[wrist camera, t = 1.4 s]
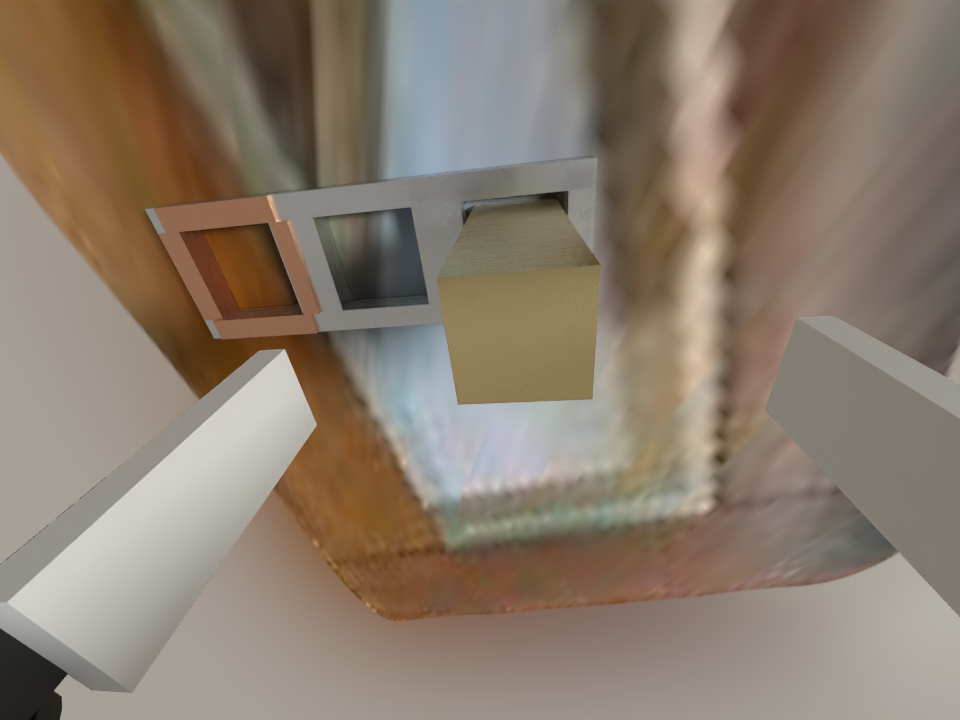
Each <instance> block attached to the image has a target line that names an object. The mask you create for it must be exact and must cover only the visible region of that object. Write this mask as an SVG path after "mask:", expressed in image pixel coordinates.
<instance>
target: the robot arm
mask: <svg viewBox="0 0 960 720" xmlns="http://www.w3.org/2000/svg"><path fill="white" fill-rule="evenodd" d="M765 410H766V411H767V412H768V413H769V414H770V415H771V417H772V418H773V419H774V420H775V421H776V422H777V423H778V424H779V425H780V426H781V427H782V428H783V429H784V430H785V431H786V432H787V434H788V435H789V436H790V437H791V438H792V439H793V440H794V441H795V442H796V443H797V444H798V445H799V446H800V447H801V448H802V450H803V451H804V452H805V453H806V454H807V455H808V456H809V457H810V458H811V459H812V460H813V461H814V462H815V463H816V464H817V465H818V467H819V468H820V469H821V470H822V471H823V472H824V473H825V474H826V475H827V476H828V477H829V478H830V479H831V480H832V481H833V482H834V484H835V485H836V486H837V487H838V488H839V489H840V490H841V491H842V492H843V493H844V494H845V495H846V496H847V497H848V498H849V500H850V501H851V502H852V503H853V504H854V505H855V506H856V507H857V508H858V509H859V510H860V511H861V512H862V513H863V514H864V515H865V517H866V518H867V519H868V520H869V521H870V522H871V523H872V524H873V525H874V526H875V527H876V528H877V529H878V530H879V531H880V532H881V534H882V535H883V536H884V537H885V538H886V539H887V540H888V541H889V542H890V543H891V544H892V545H893V546H894V547H895V548H896V550H897V551H898V552H899V553H901V555H902V556H903V557H904V558H905V559H906V560H907V561H908V562H909V563H910V564H911V565H912V567H913V568H914V569H915V570H916V571H917V572H918V573H919V574H920V575H921V576H922V577H923V578H924V579H925V580H926V581H927V582H928V584H929V585H930V586H931V587H932V588H933V589H934V590H935V591H936V592H937V593H938V594H939V595H940V596H941V597H942V598H943V600H944V601H945V602H946V603H947V604H948V605H949V606H950V607H951V608H952V609H953V610H954V611H955V612H956V613H957V614H958V615H959V617H960V385H959V384H958V383H955V382H954V381H952V380H950V379H948V378H947V377H945V376H943V375H941V374H939V373H937V372H936V371H934V370H932V369H930V368H928V367H926V366H925V365H923V364H921V363H919V362H917V361H915V360H914V359H912V358H910V357H908V356H906V355H904V354H902V353H901V352H899V351H897V350H895V349H893V348H891V347H890V346H888V345H886V344H884V343H882V342H880V341H879V340H877V339H875V338H873V337H871V336H869V335H868V334H866V333H864V332H862V331H860V330H858V329H857V328H855V327H853V326H851V325H849V324H847V323H846V322H844V321H842V320H840V319H838V318H836V317H835V316H818V317H801V318H797V320H796V323H795V326H794V329H793V331H792V334H791V337H790V340H789V343H788V346H787V349H786V351H785V354H784V357H783V360H782V363H781V366H780V369H779V371H778V374H777V377H776V380H775V383H774V386H773V389H772V391H771V394H770V397H769V400H768V403H767V406H766V408H765ZM316 426H317V424H316V422H315V420H314V417H313V415H312V413H311V410H310V408H309V405H308V403H307V401H306V398H305V396H304V394H303V391H302V389H301V386H300V384H299V382H298V379H297V377H296V375H295V372H294V370H293V367H292V365H291V363H290V360H289V358H288V356H287V353H286V351H285V349H276V350H260V351H258V352H257V353H256V354H255V355H254V356H252V357H251V358H250V359H249V360H247V361H246V362H245V363H244V364H243V365H241V366H240V367H239V368H238V369H237V370H235V371H234V372H233V373H232V374H231V375H229V376H228V377H227V378H226V379H224V380H223V381H222V382H221V383H220V384H218V385H217V386H216V387H215V388H214V389H212V390H211V391H210V392H209V393H208V394H206V395H205V396H204V397H203V398H202V399H200V400H199V401H198V402H197V403H196V404H195V405H193V406H192V407H191V408H189V409H188V410H187V411H186V412H185V413H183V414H182V415H181V416H180V417H179V418H177V419H176V420H175V421H174V422H173V423H171V424H170V425H169V426H168V427H167V428H165V429H164V430H163V431H162V432H160V433H159V434H158V435H157V436H156V437H154V438H153V439H152V440H151V441H150V442H148V443H147V444H146V445H145V446H144V447H142V448H141V449H140V450H139V451H137V452H136V453H135V454H134V455H133V456H131V458H129V459H128V460H127V461H126V462H124V463H123V464H122V465H121V466H119V467H118V468H117V469H116V470H115V471H113V472H112V473H111V474H110V475H108V476H107V477H106V478H104V479H103V480H102V481H101V482H99V484H97V485H96V486H95V487H93V488H92V489H91V490H90V491H89V492H87V493H86V494H85V495H84V496H83V497H81V498H80V499H79V500H78V501H77V502H76V503H75V504H73V505H72V506H70V507H69V508H68V509H67V510H66V511H64V512H63V513H62V514H61V515H60V516H58V517H57V518H56V520H54V521H53V522H52V523H50V524H49V525H47V526H46V527H45V528H44V529H43V530H42V531H40V532H39V533H38V534H37V535H36V536H34V537H33V538H32V539H30V540H29V541H28V542H27V543H26V544H25V545H23V546H22V547H21V548H20V549H18V550H17V551H16V552H15V553H14V554H12V555H11V556H10V557H9V558H7V559H6V560H5V561H4V562H3V563H1V564H0V720H60V716H61V711H62V697H61V696H60V695H59V694H57V693H56V692H55V691H54V689H55V688H56V687H57V686H58V685H59V684H60V683H61V681H62V680H63V679H64V678H65V677H66V675H67V674H68V675H69V676H71V677H72V678H74V679H75V680H77V681H78V682H80V683H82V684H83V685H84V686H86V687H87V688H89V689H90V690H97V691H114V692H130V693H132V692H133V691H134V689H135V688H136V686H137V685H138V684H139V682H140V681H141V679H142V678H143V676H144V675H145V673H146V672H147V671H148V669H149V668H150V666H151V665H152V663H153V661H154V660H155V659H156V657H157V656H158V655H159V653H160V651H161V650H162V649H163V647H164V646H165V644H166V643H167V641H168V640H169V639H170V637H171V636H172V634H173V633H174V631H175V630H176V628H177V627H178V625H179V624H180V623H181V621H182V620H183V618H184V617H185V615H186V614H187V613H188V611H189V610H190V608H191V607H192V605H193V604H194V602H195V601H196V599H197V598H198V596H199V595H200V594H201V592H202V591H203V589H204V588H205V586H206V585H207V584H208V582H209V580H210V579H211V578H212V576H213V575H214V573H215V572H216V570H217V569H218V567H219V566H220V565H221V563H222V562H223V560H224V559H225V557H226V556H227V555H228V553H229V552H230V550H231V549H232V547H233V546H234V544H235V543H236V541H237V540H238V539H239V537H240V536H241V534H242V532H243V531H244V530H245V528H246V527H247V525H248V524H249V523H250V521H251V520H252V518H253V517H254V515H255V514H256V512H257V511H258V509H259V508H260V507H261V505H262V504H263V502H264V501H265V499H266V498H267V497H268V495H269V493H270V492H271V491H272V489H273V488H274V486H275V485H276V483H277V482H278V481H279V479H280V478H281V476H282V475H283V473H284V472H285V470H286V469H287V468H288V466H289V465H290V463H291V462H292V460H293V459H294V457H295V456H296V454H297V453H298V452H299V450H300V449H301V447H302V446H303V444H304V443H305V441H306V440H307V439H308V437H309V436H310V434H311V433H312V431H313V430H314V428H315V427H316Z"/></svg>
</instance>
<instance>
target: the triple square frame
mask: <svg viewBox="0 0 960 720" xmlns="http://www.w3.org/2000/svg"><path fill="white" fill-rule="evenodd" d="M596 173H597V157H594V156H584V157H576V158H567V159H559V160H550V161H541V162H533V163H524V164H515V165H507V166H498V167H489V168H481V169H472V170H463V171H455V172H446V173H437V174H429V175H420V176H411V177H403V178H394V179H385V180H377V181H368V182H359V183H351V184H342V185H333V186H325V187H316V188H307V189H299V190H290V191H281V192H273V193H264V194H255V195H247V196H238V197H229V198H221V199H212V200H203V201H195V202H186V203H177V204H169V205H164V206H159V207H154V208H149V209H145V210H146V212H147V214H148V216H149V218H150V220H151V222H152V224H153V225H154V227H155V229H156V231H157V233H158V235H159V237H160V238H161V240H162V242H163V244H164V246H165V248H166V250H167V251H168V253H169V255H170V257H171V259H172V261H173V263H174V264H175V266H176V268H177V270H178V272H179V274H180V276H181V277H182V279H183V281H184V283H185V285H186V287H187V289H188V291H189V292H190V294H191V296H192V298H193V300H194V302H195V304H196V305H197V307H198V309H199V311H200V313H201V315H202V317H203V318H204V320H205V322H206V324H207V326H208V328H209V330H210V331H211V333H212V335H213V337H214V339H216V338H222V339H236V338H251V337H266V336H281V335H296V334H312V333H318V332H321V331H336V330H351V329H366V328H382V327H397V326H412V325H427V324H442V323H444V321H443V315H442V309H441V303H440V298H439V292H438V286H437V280H436V278H437V276H438V274H439V272H440V270H441V268H442V266H443V264H444V262H445V261H446V259H447V257H448V255H449V253H450V251H451V249H452V247H453V245H454V243H455V241H456V240H457V238H458V236H459V234H460V232H461V230H462V228H463V226H464V224H465V222H466V211H465V203H464V202H465V201H474V200H484V199H493V198H502V197H512V196H521V195H531V194H540V193H550V192H559V191H565V204H564V212H565V213H566V215H567V216H568V218H569V219H570V221H571V222H572V224H573V225H574V227H575V228H576V230H577V231H578V232H579V234H580V235H581V237H582V238H583V240H584V241H585V243H586V244H587V246H588V247H589V249H590V250H591V252H592V253H593V235H594V214H595V194H596ZM408 207H411V211H412V216H413V221H414V227H415V232H416V237H417V242H418V248H419V253H420V258H421V263H422V269H423V274H424V279H425V284H426V290H427V295H418V296H405V297H392V298H379V299H365V300H352V298H351V294H350V291H349V288H348V284H347V281H346V278H345V274H344V271H343V268H342V265H341V261H340V258H339V255H338V251H337V248H336V245H335V241H334V238H333V235H332V232H331V228H330V225H329V222H328V218H327V216H332V215H341V214H351V213H360V212H370V211H379V210H389V209H398V208H408ZM261 223H268V224H269V227H270V229H271V232H272V234H273V237H274V240H275V242H276V245H277V247H278V250H279V253H280V255H281V258H282V260H283V263H284V266H285V268H286V271H287V274H288V276H289V279H290V281H291V284H292V287H293V289H294V292H295V294H296V297H297V300H298V302H299V305H287V306H274V307H260V308H247V309H239V308H238V306H237V304H236V302H235V300H234V298H233V295H232V293H231V291H230V289H229V287H228V285H227V283H226V281H225V279H224V277H223V274H222V272H221V270H220V268H219V266H218V264H217V262H216V260H215V258H214V256H213V253H212V251H211V249H210V247H209V245H208V243H207V241H206V239H205V237H204V235H203V232H202V230H204V229H213V228H223V227H232V226H242V225H251V224H261Z"/></svg>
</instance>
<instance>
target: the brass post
mask: <svg viewBox="0 0 960 720" xmlns="http://www.w3.org/2000/svg"><path fill="white" fill-rule="evenodd" d="M436 280H437V286H438V292H439V298H440V303H441V309H442V315H443V321H444V327H445V332H446V338H447V344H448V350H449V355H450V361H451V367H452V373H453V378H454V384H455V390H456V396H457V401H458V405H460V404H485V403H510V402H535V401H560V400H585V399H592V397H593V380H594V364H595V347H596V330H597V314H598V297H599V281H600V264H599V262H598V261H597V259H596V258H595V256H594V255H593V253H592V252H591V250H590V249H589V247H588V246H587V244H586V243H585V241H584V240H583V238H582V237H581V235H580V234H579V232H578V231H577V230H576V228H575V227H574V225H573V224H572V222H571V221H570V219H569V218H568V216H567V215H566V213H565V212H564V210H563V209H562V207H561V206H560V204H559V203H558V201H557V200H556V198H547V199H537V200H528V201H518V202H508V203H499V204H489V205H480V206H474V207H473V209H472V211H471V213H470V215H469V217H468V218H467V220H466V222H465V224H464V226H463V228H462V230H461V232H460V234H459V236H458V238H457V240H456V241H455V243H454V245H453V247H452V249H451V251H450V253H449V255H448V257H447V259H446V261H445V262H444V264H443V266H442V268H441V270H440V272H439V274H438V276H437V278H436Z"/></svg>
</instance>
